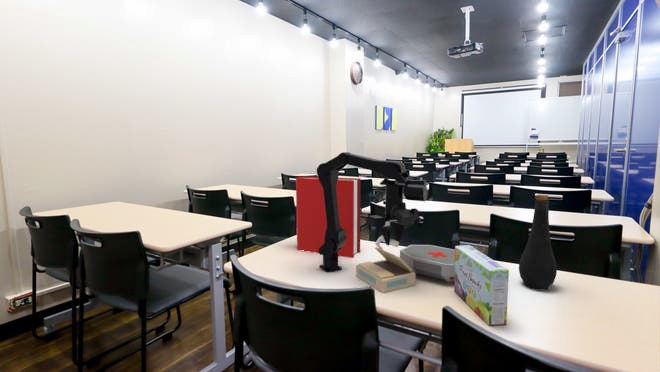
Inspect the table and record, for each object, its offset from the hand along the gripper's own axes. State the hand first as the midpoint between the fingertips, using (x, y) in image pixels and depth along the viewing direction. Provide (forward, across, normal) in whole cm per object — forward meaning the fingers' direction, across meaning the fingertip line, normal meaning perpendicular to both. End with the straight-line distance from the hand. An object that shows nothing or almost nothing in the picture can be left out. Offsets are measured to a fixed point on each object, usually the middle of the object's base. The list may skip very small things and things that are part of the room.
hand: (392, 244), depth 117 cm
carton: (+13, -2, +1) cm, 13 cm away
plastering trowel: (+5, 0, +1) cm, 5 cm away
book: (+13, -5, +39) cm, 42 cm away
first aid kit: (+12, +18, -3) cm, 22 cm away
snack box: (+13, +10, -27) cm, 31 cm away
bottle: (+12, +39, -26) cm, 48 cm away
